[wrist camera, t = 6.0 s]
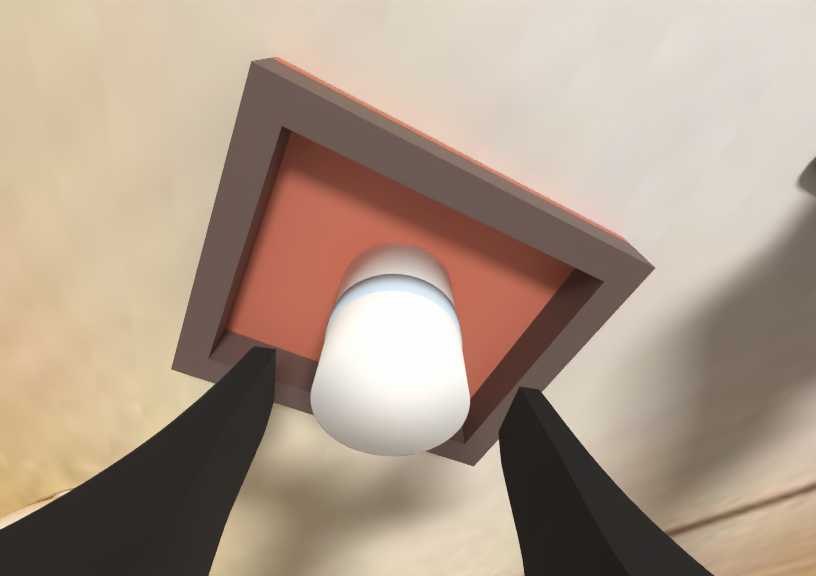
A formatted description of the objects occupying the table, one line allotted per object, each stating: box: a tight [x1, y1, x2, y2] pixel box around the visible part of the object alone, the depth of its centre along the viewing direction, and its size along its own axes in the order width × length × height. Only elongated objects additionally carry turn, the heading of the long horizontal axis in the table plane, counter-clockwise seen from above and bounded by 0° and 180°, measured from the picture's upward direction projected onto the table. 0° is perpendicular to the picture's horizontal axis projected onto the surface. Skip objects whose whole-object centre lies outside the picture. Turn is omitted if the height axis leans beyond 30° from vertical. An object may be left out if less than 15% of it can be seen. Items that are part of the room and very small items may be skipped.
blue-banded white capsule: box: [310, 242, 470, 456], centre depth 14 cm, size 5×5×6 cm
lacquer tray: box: [171, 57, 655, 466], centre depth 16 cm, size 14×12×2 cm
